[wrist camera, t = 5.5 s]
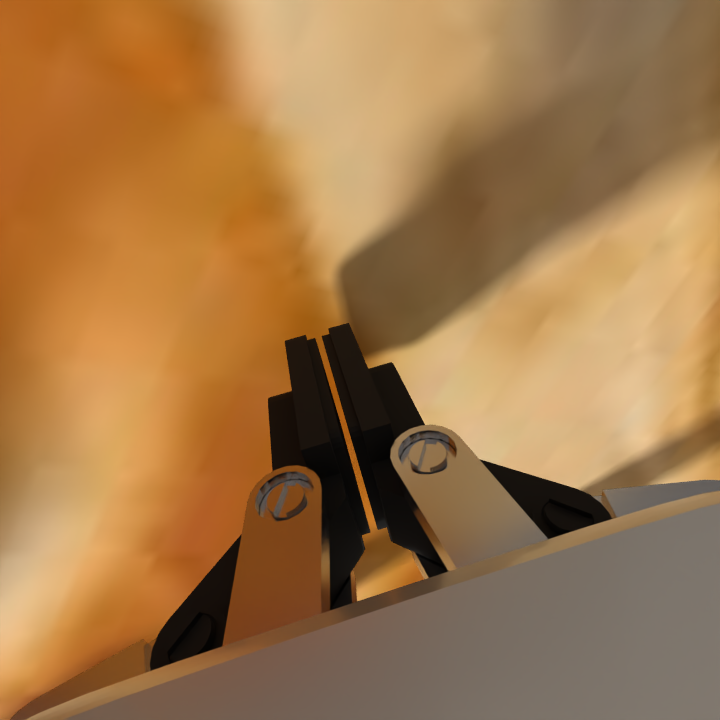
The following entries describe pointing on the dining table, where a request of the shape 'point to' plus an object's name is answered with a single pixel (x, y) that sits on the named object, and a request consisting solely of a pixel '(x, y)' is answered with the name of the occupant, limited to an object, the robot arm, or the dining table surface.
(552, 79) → the dining table surface
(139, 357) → the dining table surface
